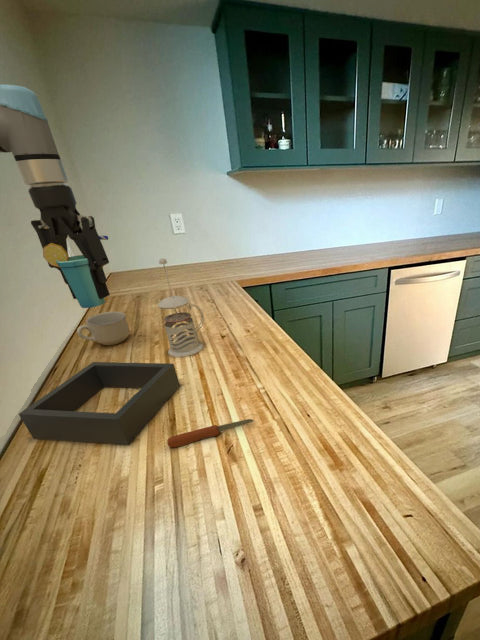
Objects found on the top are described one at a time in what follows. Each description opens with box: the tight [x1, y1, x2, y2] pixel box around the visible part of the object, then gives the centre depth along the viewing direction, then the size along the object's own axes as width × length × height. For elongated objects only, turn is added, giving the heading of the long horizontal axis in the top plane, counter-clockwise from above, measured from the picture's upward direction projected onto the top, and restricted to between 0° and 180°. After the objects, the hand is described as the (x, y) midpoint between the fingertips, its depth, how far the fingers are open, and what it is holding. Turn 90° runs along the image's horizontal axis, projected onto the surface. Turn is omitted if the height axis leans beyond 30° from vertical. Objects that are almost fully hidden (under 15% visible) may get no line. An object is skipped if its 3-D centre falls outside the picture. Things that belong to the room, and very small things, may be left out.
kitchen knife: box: [166, 418, 255, 448], centre depth 62 cm, size 16×1×2 cm, turn 110°
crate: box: [18, 361, 181, 446], centre depth 70 cm, size 21×20×6 cm
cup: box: [42, 234, 109, 309], centre depth 77 cm, size 14×8×15 cm, turn 111°
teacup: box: [76, 311, 130, 346], centre depth 102 cm, size 14×11×8 cm
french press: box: [157, 258, 205, 358], centre depth 90 cm, size 10×12×25 cm
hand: (91, 296), depth 80 cm, fingers closed on cup, 6 cm apart
